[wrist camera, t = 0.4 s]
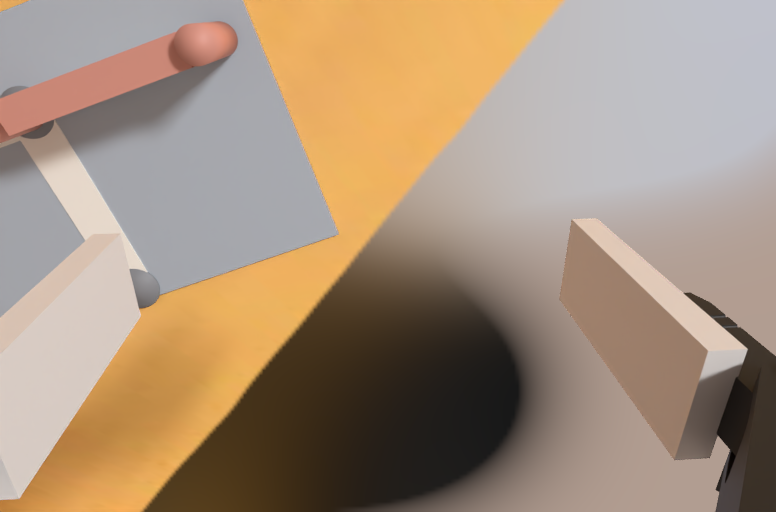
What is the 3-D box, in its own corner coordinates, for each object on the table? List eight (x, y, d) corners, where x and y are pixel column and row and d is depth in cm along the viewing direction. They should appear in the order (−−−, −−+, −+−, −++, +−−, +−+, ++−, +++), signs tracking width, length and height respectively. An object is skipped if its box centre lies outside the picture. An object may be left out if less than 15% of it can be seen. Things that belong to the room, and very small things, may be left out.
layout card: (-241, 108, 36) (-249, 109, 35) (213, -71, 33) (211, -73, 33) (-26, 362, 45) (-30, 366, 45) (341, 238, 43) (341, 241, 42)
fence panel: (59, 119, 36) (2, 140, 30) (40, 87, 36) (-23, 103, 30) (243, 50, 35) (221, 58, 29) (228, 16, 34) (203, 17, 28)
